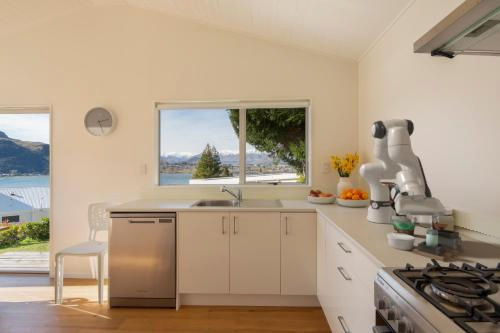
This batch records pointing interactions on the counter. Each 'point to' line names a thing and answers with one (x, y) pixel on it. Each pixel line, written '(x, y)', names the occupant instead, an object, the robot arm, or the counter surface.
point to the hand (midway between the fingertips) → (425, 222)
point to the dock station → (441, 246)
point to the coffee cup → (443, 223)
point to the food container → (403, 225)
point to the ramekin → (400, 241)
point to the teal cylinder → (432, 238)
